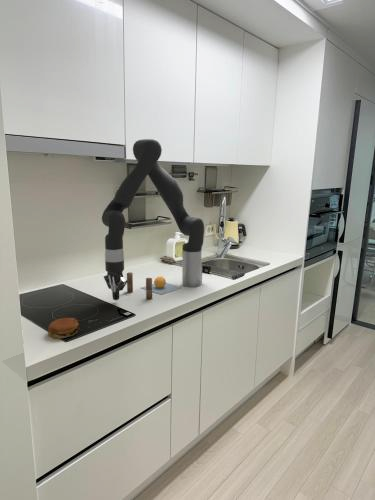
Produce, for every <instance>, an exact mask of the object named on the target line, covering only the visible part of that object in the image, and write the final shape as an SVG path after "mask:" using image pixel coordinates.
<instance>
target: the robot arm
mask: <svg viewBox="0 0 375 500" xmlns="http://www.w3.org/2000/svg"><path fill="white" fill-rule="evenodd" d="M162 151H163V150H162V145H161V144H160V142H159V141H158V139H154V138H144V139H139V140H136V141H135V142H134V144H133V146H132V152H133V153H132V154H133V156H134V158H135V160H136V162H137V163H136V165H135V166H134V168H133V169H132V170H131V171H130V173H129V174H128V175H127V176H126V177H125V178H124V180H122V182H121V183H120V185H119V186H118V188H117V191H116V193H115V195H114V197H113V199H112V200H111V201H110V202H109V203H108V205H107V206H106V208H105V209H104V210H103V212H102V215H101V222H102V223H103V225H104V226H106V227H107V228H108V233H107V234H106V235H105V237H104V247H105V248H104V249H105V251H104V260H105V261H104V263H105V265H104V266H105V271H106V272H107V274H106V275H104V276H103V279H104V281H105V283H106V285H107V287H108V289H110V291H111V294H112V300H113V301H119V299H120V291H123V290H124V288H125V286H127V279H125V278H124V275H123V273H124V270H125V254H124V253H125V252H124V240H123V239H124V234H125V228H126V219H125V218H126V217H125V216H124V213H123V212H124V211H125V210H126V209H128V208H130V206H131V204H132V203H133V200H134V199H135V197H136V194H137V193H138V190H139V189H140V187H141V186H142V183H143V182H144V180H145V179H146V178H147V176H148V178H149V179H150V181H151V183H153V184H152V185H154V187H155V189H156V190H157V192H158V194H159V196H160V197H161V199H162V201H163V202H164V203H165V205H166V207H167V208H168V210H169V211H170V214H171V215H172V217H173V219H174V222H175V223H176V226H177V227H178V229H179V232H181V234H183V235H184V236H187V237H188V241H187V242H186V243H185V242H184V243H183V245H182V259H181V260H182V262H181V263H182V266H181V267H182V268H181V269H182V270H181V271H182V274H181V275H182V276H181V278H182V279H181V280H182V281H181V284H182V286H184V287H188V288H195V287H199V286H201V285H202V284H203V273H202V266H203V264H202V250H203V249H202V248H203V245H204V239H205V238H204V237H205V224H204V221H203V219H201V218H200V217H194V216H190V215H189V214H188V212H187V211H186V209H185V206H184V195H183V191H182V189H181V188H180V185H179V184H178V182H177V180H176V179H175V178H174V177H173V176H172V175H171V174H170V173H168V171H167V170H165V169H164V168H163V167H162V166H161V164H160V163H159V160H160V158H161V156H162Z"/></svg>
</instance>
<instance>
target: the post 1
mask: <svg viewBox="0 0 375 500" xmlns="http://www.w3.org/2000/svg"><path fill="white" fill-rule="evenodd" d="M133 274H134V273H133V272H131V271H130V272H127V273H126V280H127V283H126V292H127V294H132V293H134V284H133V281H134V278H133Z"/></svg>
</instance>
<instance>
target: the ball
mask: <svg viewBox="0 0 375 500" xmlns="http://www.w3.org/2000/svg"><path fill="white" fill-rule="evenodd" d="M153 281H154V282H153V284H154V285H155V286H156V287H157V288H163V287H164V286H165V284H166V283H167V282H166V279H165V278H164V277H163V276H157V277H156V278H155V279H154V280H153Z"/></svg>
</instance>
